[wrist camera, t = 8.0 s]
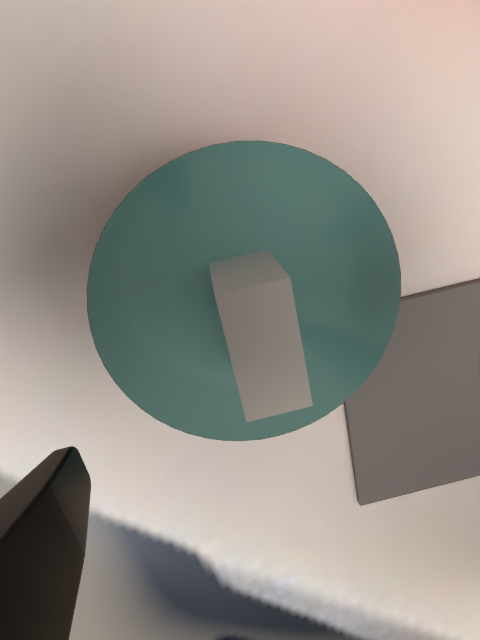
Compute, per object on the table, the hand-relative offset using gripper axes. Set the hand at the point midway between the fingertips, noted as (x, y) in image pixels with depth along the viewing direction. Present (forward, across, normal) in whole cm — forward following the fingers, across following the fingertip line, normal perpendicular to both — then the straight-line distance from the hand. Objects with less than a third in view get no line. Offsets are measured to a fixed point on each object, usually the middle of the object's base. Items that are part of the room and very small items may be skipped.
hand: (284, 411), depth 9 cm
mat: (+12, -11, +10) cm, 19 cm away
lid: (+7, 0, 0) cm, 7 cm away
